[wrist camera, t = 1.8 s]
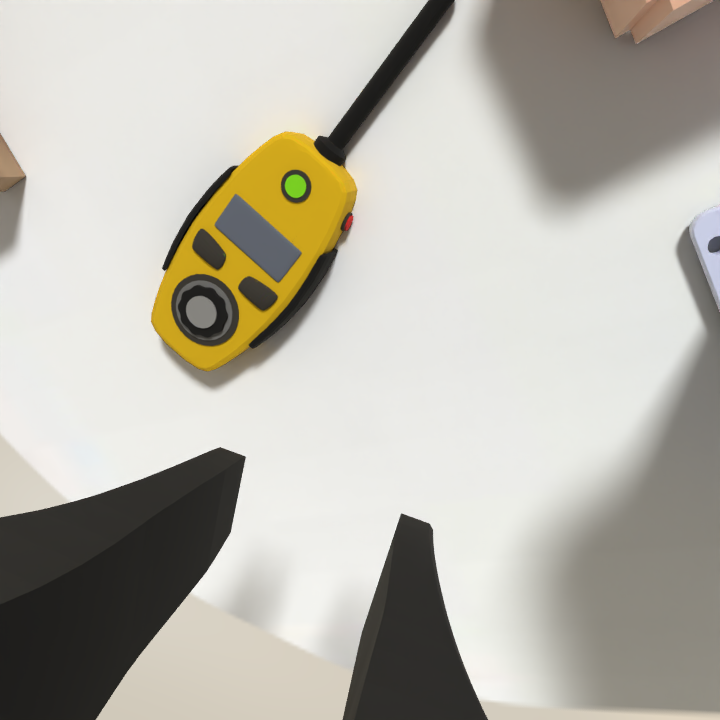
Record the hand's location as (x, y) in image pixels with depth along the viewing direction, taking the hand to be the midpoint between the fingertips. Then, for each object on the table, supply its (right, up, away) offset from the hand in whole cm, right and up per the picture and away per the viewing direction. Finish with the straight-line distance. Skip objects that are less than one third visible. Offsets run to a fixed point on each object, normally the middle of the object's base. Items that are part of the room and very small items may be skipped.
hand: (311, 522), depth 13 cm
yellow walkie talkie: (-1, +9, +8) cm, 12 cm away
